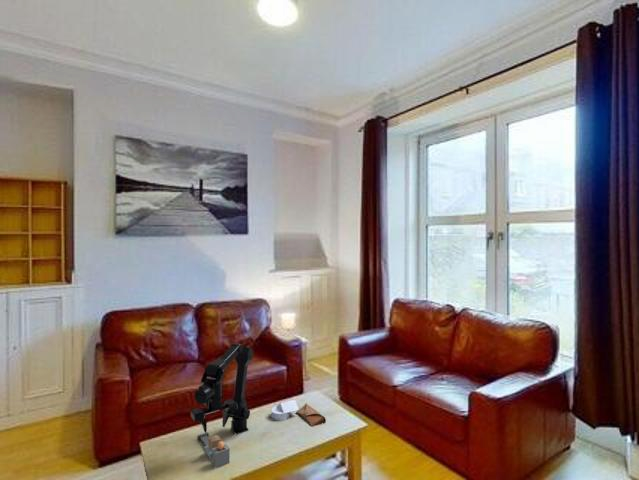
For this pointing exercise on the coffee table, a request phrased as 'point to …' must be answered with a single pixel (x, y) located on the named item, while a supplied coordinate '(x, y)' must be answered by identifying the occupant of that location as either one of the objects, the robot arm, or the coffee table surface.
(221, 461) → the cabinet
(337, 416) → the coffee table surface
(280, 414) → the wedge on round base
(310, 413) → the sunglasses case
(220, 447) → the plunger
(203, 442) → the rail
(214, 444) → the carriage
